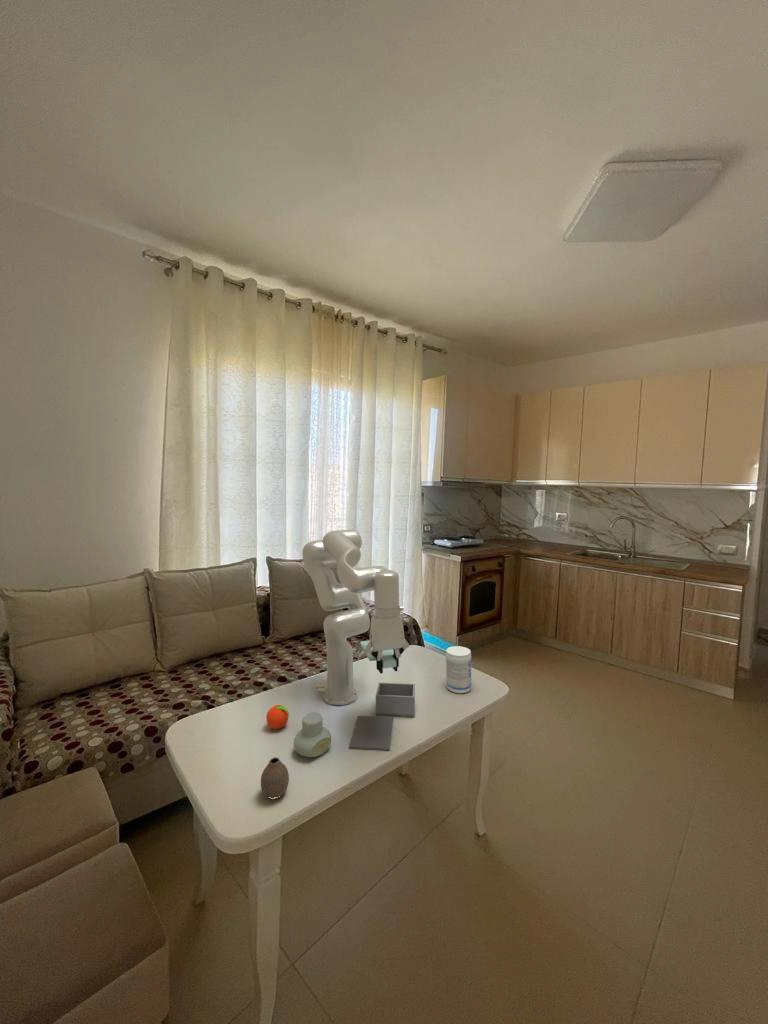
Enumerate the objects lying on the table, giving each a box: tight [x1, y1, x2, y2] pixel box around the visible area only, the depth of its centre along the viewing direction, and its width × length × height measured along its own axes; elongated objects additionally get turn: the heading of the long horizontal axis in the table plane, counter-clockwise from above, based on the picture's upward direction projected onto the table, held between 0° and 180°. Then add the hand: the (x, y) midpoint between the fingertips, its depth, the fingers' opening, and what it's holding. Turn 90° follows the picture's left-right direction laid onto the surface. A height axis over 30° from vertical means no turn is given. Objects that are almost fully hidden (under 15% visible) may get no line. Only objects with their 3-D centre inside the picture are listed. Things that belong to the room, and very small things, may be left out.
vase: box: [260, 756, 290, 798], centre depth 100 cm, size 7×7×9 cm
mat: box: [348, 715, 394, 752], centre depth 125 cm, size 12×16×1 cm
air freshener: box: [293, 712, 332, 758], centre depth 116 cm, size 11×8×10 cm
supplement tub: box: [445, 645, 472, 694], centre depth 152 cm, size 10×10×15 cm
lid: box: [359, 639, 402, 669], centre depth 128 cm, size 19×10×2 cm, turn 16°
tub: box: [375, 682, 416, 718], centre depth 138 cm, size 13×9×7 cm
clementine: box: [266, 704, 291, 730], centre depth 128 cm, size 8×7×7 cm
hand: (387, 669), depth 121 cm, fingers closed on lid, 4 cm apart
